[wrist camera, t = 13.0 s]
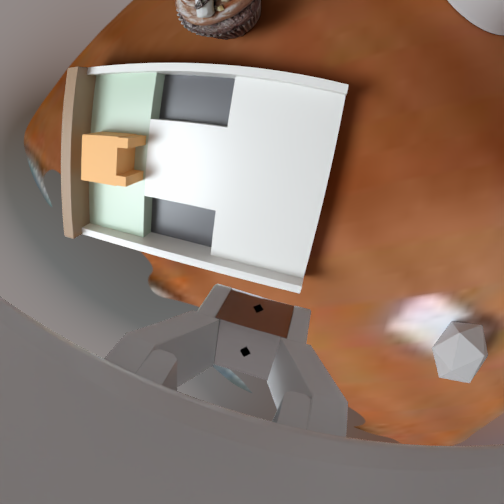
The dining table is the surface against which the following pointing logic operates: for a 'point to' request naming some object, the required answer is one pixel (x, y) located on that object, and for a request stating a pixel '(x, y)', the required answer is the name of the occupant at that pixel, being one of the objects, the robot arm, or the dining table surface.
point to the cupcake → (219, 16)
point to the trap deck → (206, 164)
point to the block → (110, 158)
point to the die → (460, 351)
